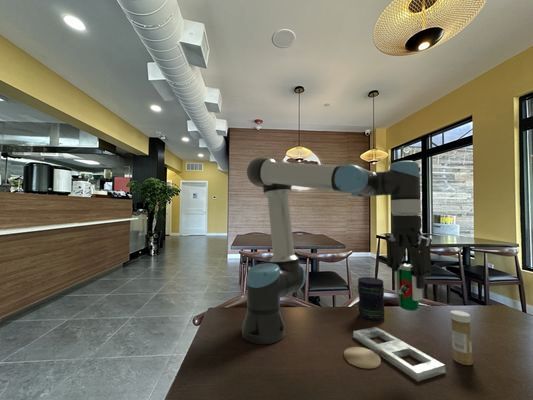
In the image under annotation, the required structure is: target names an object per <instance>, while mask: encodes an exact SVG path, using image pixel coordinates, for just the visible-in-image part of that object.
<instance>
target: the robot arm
mask: <svg viewBox="0 0 533 400" xmlns="http://www.w3.org/2000/svg"><path fill="white" fill-rule="evenodd" d="M419 167H420V166H419V163H418V162H417V161H415V160H414V161H413V160H400V161H397V162H396V161H395V162H392V163H391V164H390V165H389V170H384V171H383V170H381V171H370V170H368V169H365V168H363V167H361V166H359V165H356V164H345V165H337V164H334V165H333V164H318V163H316V164H315V163H300V162H299V163H298V162H296V163H295V162H283V161H278V160H275V159H272V158H267V157H262V156H261V157H256V158H254V159H253V160H251V161H250V162H249V164H248V166H247V169H246V175H247V178H248V181H249V182H250V183H251V184H252V185H253V186H256V187H259V188H262V191H263V195H264V196H265V197H267V204H268V215H269V224H270V225H269V226H270V227H269V228H270V237H271V244H272V246H271V247H272V255H273V256H272V257H271V258H270V260H269V262H266V263H264V262H263V263H260V264H255V265H253V266H251V267H250V268H249V269H248V271H247V275H246V314H245V316H244V320H243V323H242V326H241V337H242V338H243V339H244V340H245V341H247V342H249V343H252V344H256V345H270V344H275V343H277V342H279V341H281V340H283V339H284V338H285V335H286V326H285V323H284V320H283V317H282V314H281V306H280V305H281V298H284V297H286V296H288V295H291V294H295V293H296V292H298V291H299V290H301V289H302V288H303V286H304V285H305V283H306V279H307V277H306V276H307V274H306V270H305V267H304V266H303V265H302V264H301V263H300V258H299V257H298V256H297V255H296V254H295V248H294V240H293V239H294V238H293V230H292V229H293V228H292V221H291V219H292V218H291V213H290V211H291V210H290V202H289V196H290V194H291V193H292V187H293V186H294V187H302V188H309V189H317V190H326V191H331V192H332V191H334V192H339V193H347V194H351V196H353V197H360V198H365V197H374V196H375V197H376V196H377V197H378V196H379V197H380V196H390V200H391V201H390V210H391V214H393V215H392V216H391V228H392V229H393V230H392V233H391V234H385V235H384V239H385V242H386V266H387V268H390V269H392V276H393V278H392V279H393V281H394V294H395V295H398V267H399V264H403V262H404V256H405V252H406V250H407V252H408V253H409V257H410V260H411V265H412V266H413V270H414V275H413V276H412V292H413V300H414V301H417V300H419V301H422V300H423V289H424V288H425V276H431V275H432V260H431V258H432V257H431V246H432V243H433V239H432V238H431V237H425V236H423V234H422V233H421V229H422V216H421V215H419V214H421V213H422V209H421V206H422V205H421V175H420V168H419Z"/></svg>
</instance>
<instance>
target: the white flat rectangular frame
mask: <svg viewBox="0 0 533 400" xmlns="http://www.w3.org/2000/svg"><path fill="white" fill-rule="evenodd" d="M352 333H353V335H352V337H353V338H354V339H355V340H357V341H358V342H360V343H361V344H363V345H364V346H365V347H367V349H368V348H369V350H371V351H373V352H375V353H376V354H378V355H379V357H380V358H382V359H385V360H386V361H387V362H389V363H390V364H391V365H393V366H395V367H396V368H397V369H399V370H400V371H402V372H403V373H405V374H406V375H408V376H409V377H410V378H411V379H413V380H415V381H416V382H421V381H424V380H427V379H430V378H433V377H436V376H440V375H443V374H446V364H444V363H442V362H441V361H439V360H437V359H435V358H433V357H432V356H430V355H428V354H426V353H424V352H423V351H421V350H419V349H418V348H415V347H414V346H411V345H410V344H408V343H406V342H405V341H403V340H401V339H399V338H397V337H396V336H394V335H392V334H390V333H388V331H385V330H383V329H381V328H380V327H377V326H373V327H369V328H368V327H367V328H363V329H358V330H353V331H352ZM378 337H379V338H381V340H384V341H385V342H381V343H377V342H376V341H374V340H373V339H372V338H378ZM407 356H410V357H412V358H414V359H415V360H417V361H419V362H420V363H419V364H416V365H412V364H410V363H409V362H407V361H405V360H404V359H403V357H407Z"/></svg>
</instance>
